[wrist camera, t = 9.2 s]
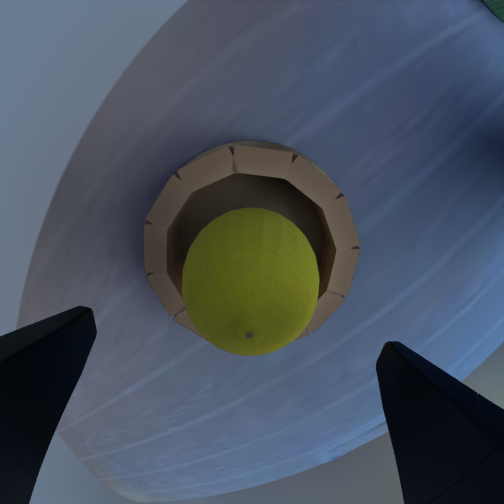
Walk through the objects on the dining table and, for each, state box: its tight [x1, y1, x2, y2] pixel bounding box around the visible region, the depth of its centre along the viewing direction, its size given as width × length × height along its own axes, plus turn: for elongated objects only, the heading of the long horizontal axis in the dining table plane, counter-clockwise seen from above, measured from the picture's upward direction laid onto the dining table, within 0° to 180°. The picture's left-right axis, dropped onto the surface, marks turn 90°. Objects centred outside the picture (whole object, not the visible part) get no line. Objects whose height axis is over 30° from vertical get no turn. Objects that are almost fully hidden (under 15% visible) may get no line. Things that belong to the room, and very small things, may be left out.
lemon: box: [182, 208, 319, 356], centre depth 12 cm, size 6×6×8 cm
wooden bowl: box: [144, 140, 360, 341], centre depth 15 cm, size 11×11×3 cm
